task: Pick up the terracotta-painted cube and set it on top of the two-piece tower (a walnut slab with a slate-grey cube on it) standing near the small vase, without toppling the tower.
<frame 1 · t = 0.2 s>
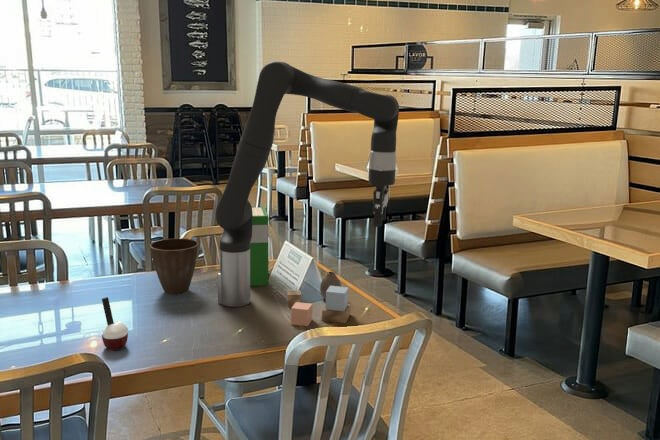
hand: (379, 223, 179), 29 cm above the table, tool pointing down, fingers open, 8 cm apart
vase: (330, 299, 199), on the table
plant pot: (175, 292, 203), on the table
slate cube: (336, 307, 183), point 3 cm above the table, touching walnut slab
terracotta cube: (301, 322, 180), on the table
hardback book: (255, 277, 219), on the table
fishing bobber: (115, 347, 161), on the table
maple block: (293, 304, 194), on the table
walnut slab: (336, 318, 184), on the table, touching slate cube
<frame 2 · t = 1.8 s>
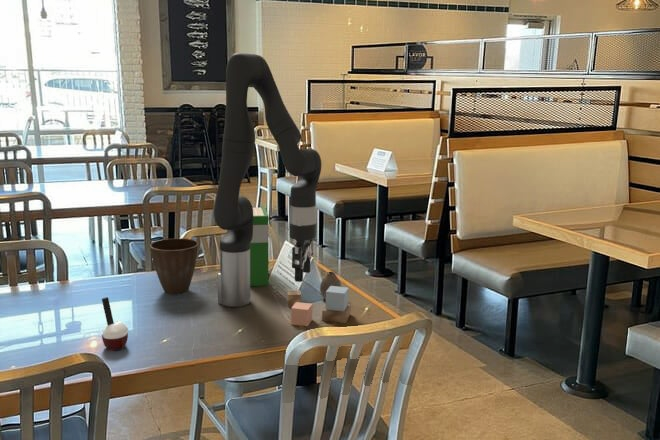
hand: (302, 276, 177), 14 cm above the table, tool pointing down, fingers open, 8 cm apart
slate cube: (336, 307, 184), point 3 cm above the table
walnut slab: (336, 318, 184), on the table
everything else where it was.
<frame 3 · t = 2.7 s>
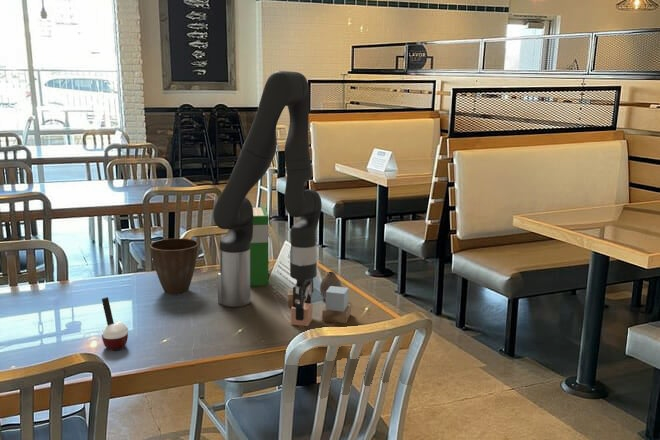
hand: (303, 314, 180), 2 cm above the table, tool pointing down, fingers open, 8 cm apart
slate cube: (336, 307, 183), point 3 cm above the table, touching walnut slab
walnut slab: (336, 318, 184), on the table, touching slate cube
everything else where it was.
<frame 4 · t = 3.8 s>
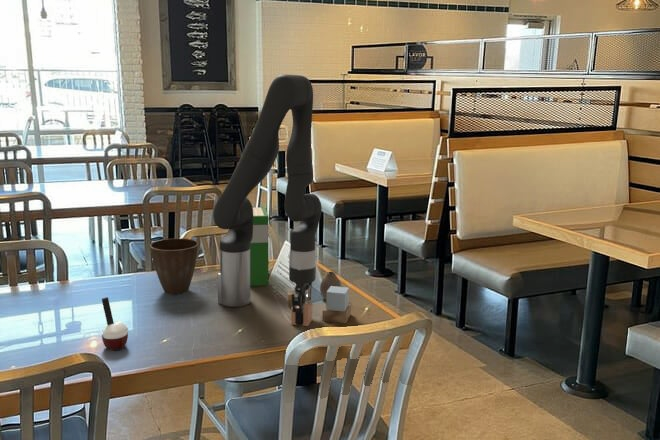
hand: (301, 320, 180), 0 cm above the table, tool pointing down, fingers closed on terracotta cube, 5 cm apart
slate cube: (337, 307, 183), point 3 cm above the table
terracotta cube: (301, 321, 180), on the table, touching gripper
walnut slab: (336, 318, 184), on the table
everything else where it was.
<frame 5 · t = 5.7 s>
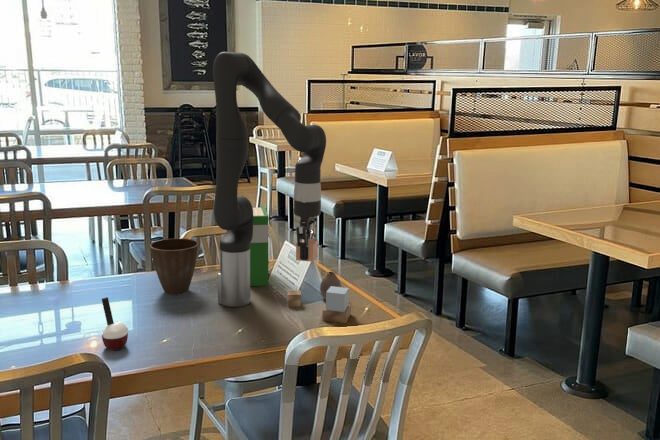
hand: (306, 256, 176), 19 cm above the table, tool pointing down, fingers closed on terracotta cube, 5 cm apart
slate cube: (337, 307, 183), point 3 cm above the table, touching walnut slab
terracotta cube: (306, 258, 176), point 19 cm above the table, touching gripper
walnut slab: (336, 318, 184), on the table, touching slate cube
everything else where it was.
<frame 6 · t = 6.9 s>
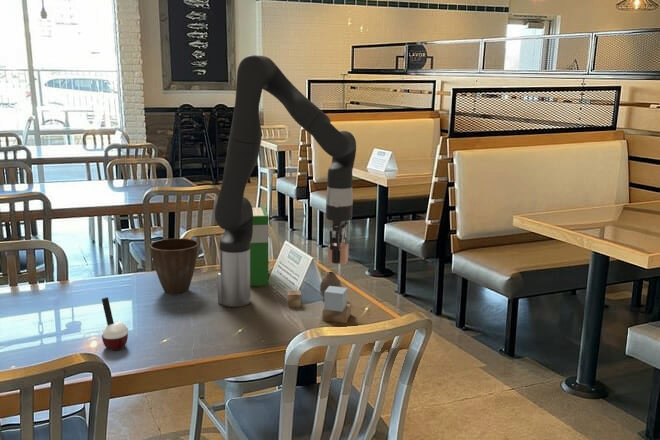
hand: (337, 260, 180), 18 cm above the table, tool pointing down, fingers closed on terracotta cube, 5 cm apart
slate cube: (335, 307, 183), point 3 cm above the table
terracotta cube: (338, 261, 180), point 17 cm above the table, touching gripper
walnut slab: (336, 318, 184), on the table
everything else where it was.
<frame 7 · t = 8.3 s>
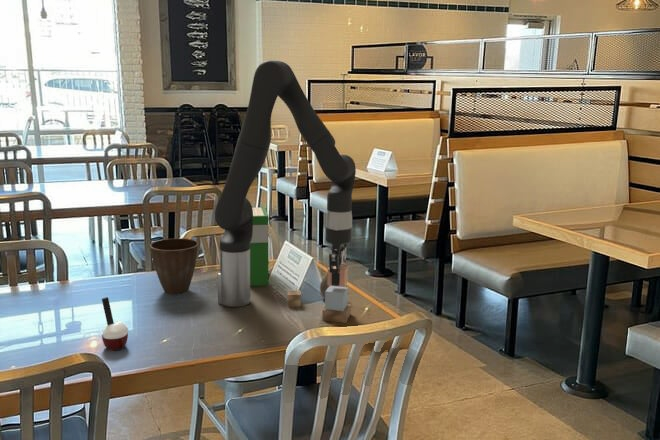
hand: (337, 281, 182), 11 cm above the table, tool pointing down, fingers closed on terracotta cube, 5 cm apart
slate cube: (336, 307, 184), point 3 cm above the table, touching walnut slab
terracotta cube: (337, 283, 182), point 11 cm above the table, touching gripper
walnut slab: (336, 318, 184), on the table, touching slate cube
everything else where it was.
when the fingers open (11 cm above the table, at t = 9.1 s): terracotta cube drops 2 cm, resting on slate cube.
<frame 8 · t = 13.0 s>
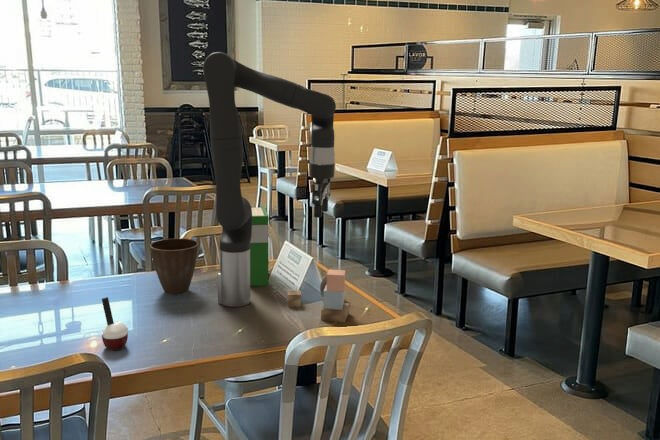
hand: (321, 214, 191), 28 cm above the table, tool pointing down, fingers open, 8 cm apart
slate cube: (333, 306, 184), point 3 cm above the table, touching terracotta cube, walnut slab
terracotta cube: (335, 288, 183), point 9 cm above the table, touching slate cube
everything else where it was.
at the end: terracotta cube 0.5 cm off-centre on the slate cube, point 5.5 cm above the slate cube's base; slate cube tilted 0°; the gripper is holding nothing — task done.
